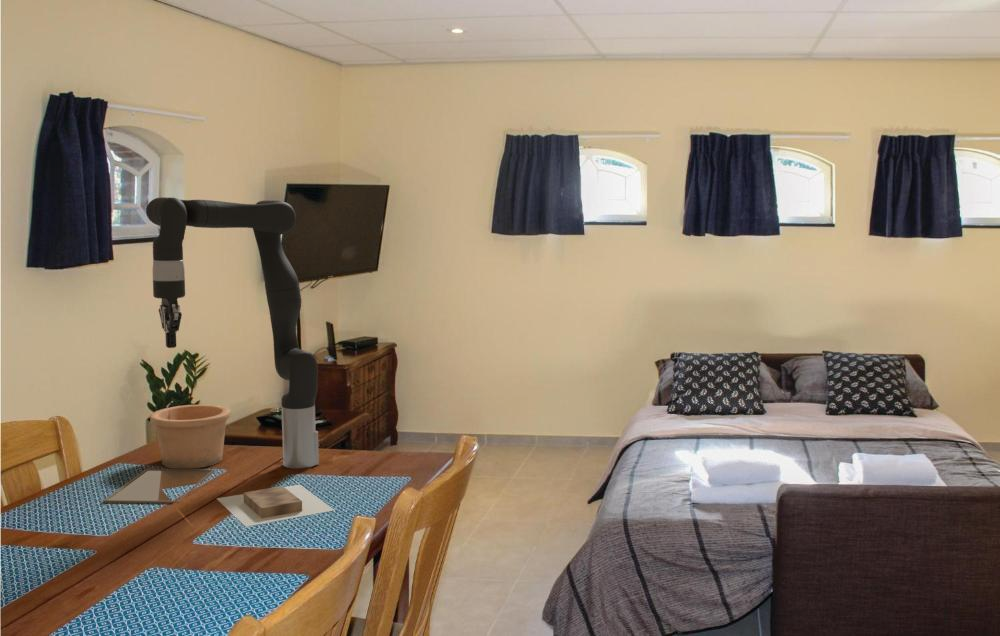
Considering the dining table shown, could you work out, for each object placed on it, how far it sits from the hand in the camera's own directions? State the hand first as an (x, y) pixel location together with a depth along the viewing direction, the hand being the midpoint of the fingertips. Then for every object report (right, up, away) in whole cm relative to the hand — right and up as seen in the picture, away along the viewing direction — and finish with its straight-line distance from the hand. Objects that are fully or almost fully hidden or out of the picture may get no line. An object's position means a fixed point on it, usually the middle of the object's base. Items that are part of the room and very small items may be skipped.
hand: (171, 347), depth 238 cm
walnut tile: (+23, -37, +1) cm, 43 cm away
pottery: (-6, -34, +37) cm, 51 cm away
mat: (+27, -39, -3) cm, 47 cm away
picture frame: (-7, -38, +13) cm, 41 cm away
